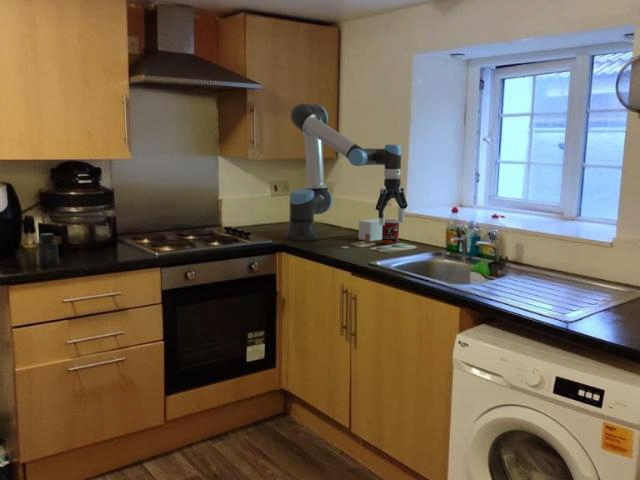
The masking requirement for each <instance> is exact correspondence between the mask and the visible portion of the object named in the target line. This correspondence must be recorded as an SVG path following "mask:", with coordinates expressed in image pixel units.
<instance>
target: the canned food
mask: <svg viewBox="0 0 640 480" xmlns="http://www.w3.org/2000/svg"><path fill="white" fill-rule="evenodd" d="M399 229H400V222H399V221H398V219H392V218H391V219H385V225H382V239H381V243H382V245H384V246H386V245H392V244H398V243H399V231H400V230H399Z"/></svg>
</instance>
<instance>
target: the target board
mask: <svg viewBox="0 0 640 480" xmlns="http://www.w3.org/2000/svg"><path fill="white" fill-rule="evenodd" d="M412 249H413V250H414V249H417V246H416V245H411V244H407V243H401V242H398V244H392V245H381V246H375V247H374V246H373V247H370V251H374V252H378V253H383V252H384V254H391V253H397V251H398V252H401V251H407V250H412Z"/></svg>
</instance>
